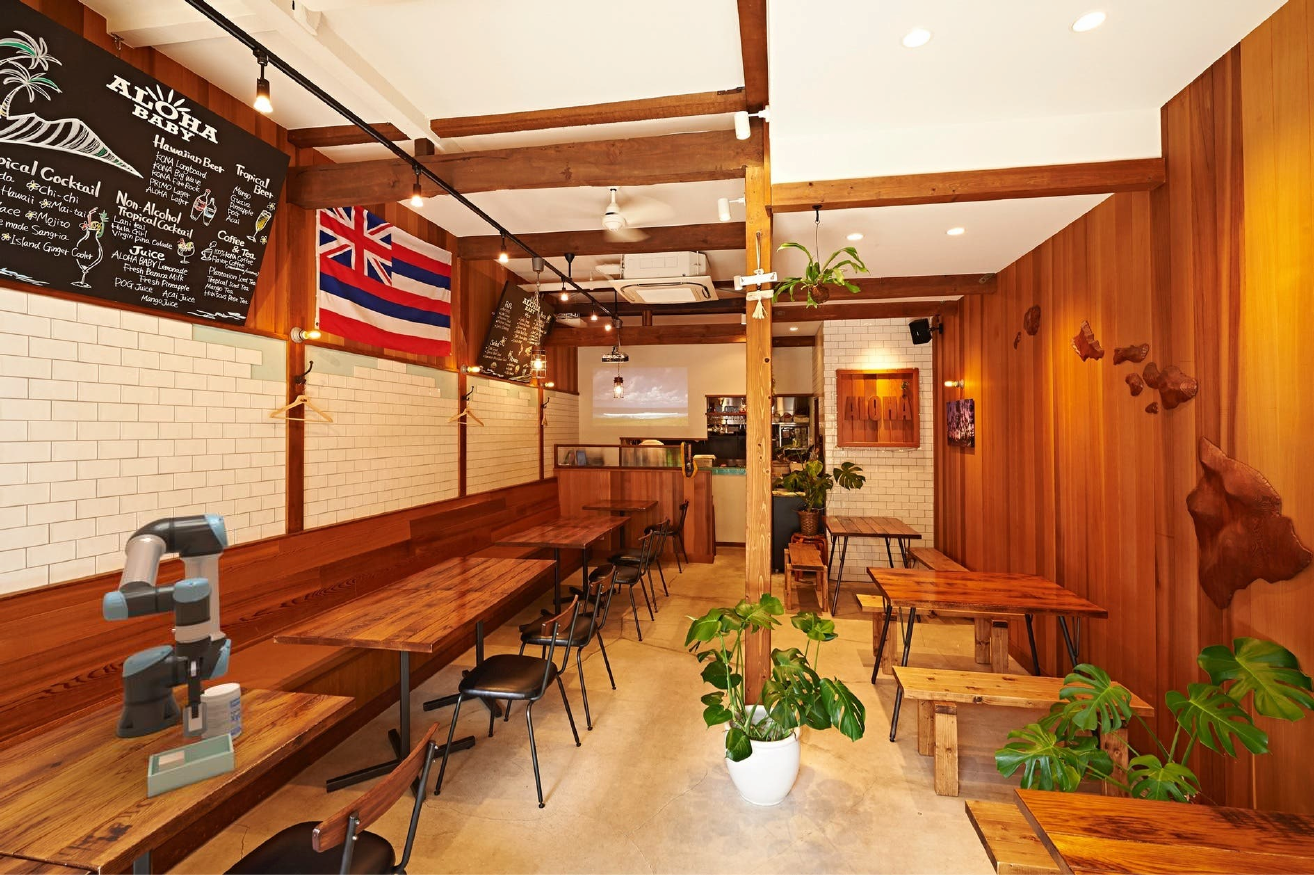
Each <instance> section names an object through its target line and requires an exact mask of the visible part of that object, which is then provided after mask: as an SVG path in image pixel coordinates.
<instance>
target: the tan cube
mask: <svg viewBox="0 0 1314 875" xmlns="http://www.w3.org/2000/svg"><path fill="white" fill-rule="evenodd" d="M184 765H185V758H184V750H183V751H179V752H176V753H172V754H169V755H165V756H161V757H160V758H159V773H161V772H164V771H167V770H171V769H174V768H177V767H181V766H184Z"/></svg>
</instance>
